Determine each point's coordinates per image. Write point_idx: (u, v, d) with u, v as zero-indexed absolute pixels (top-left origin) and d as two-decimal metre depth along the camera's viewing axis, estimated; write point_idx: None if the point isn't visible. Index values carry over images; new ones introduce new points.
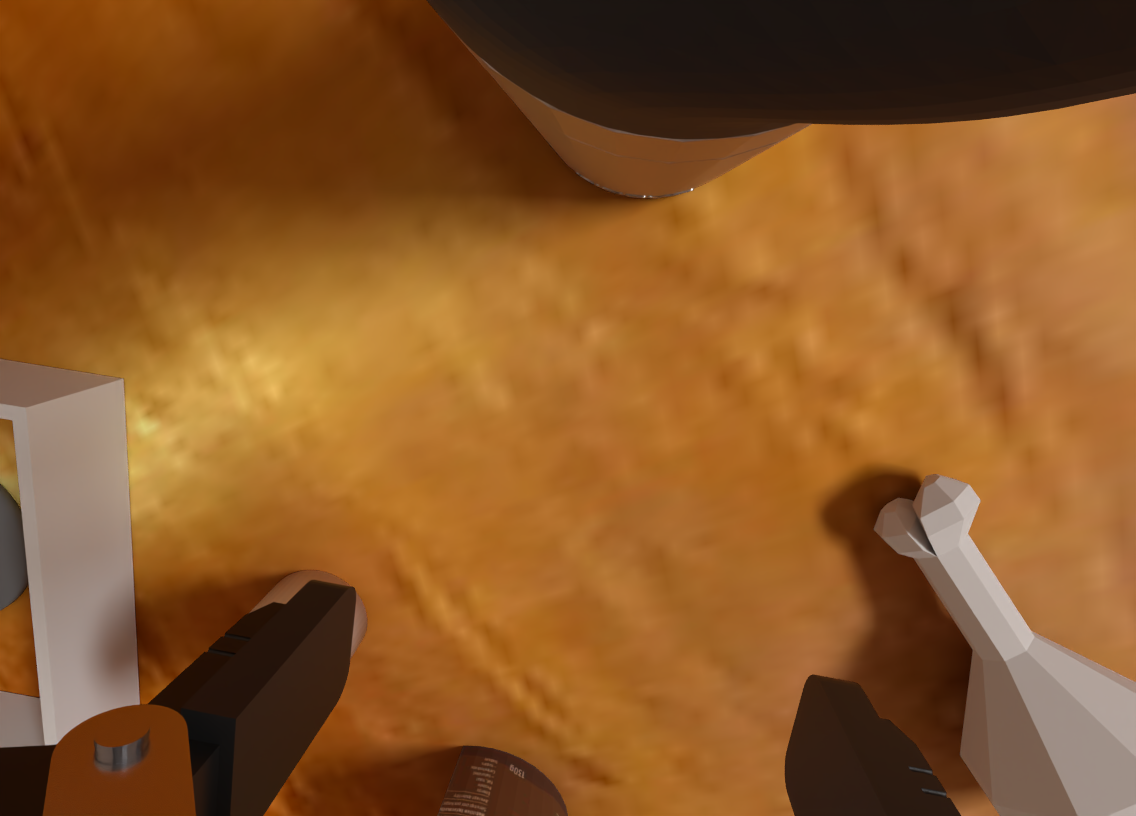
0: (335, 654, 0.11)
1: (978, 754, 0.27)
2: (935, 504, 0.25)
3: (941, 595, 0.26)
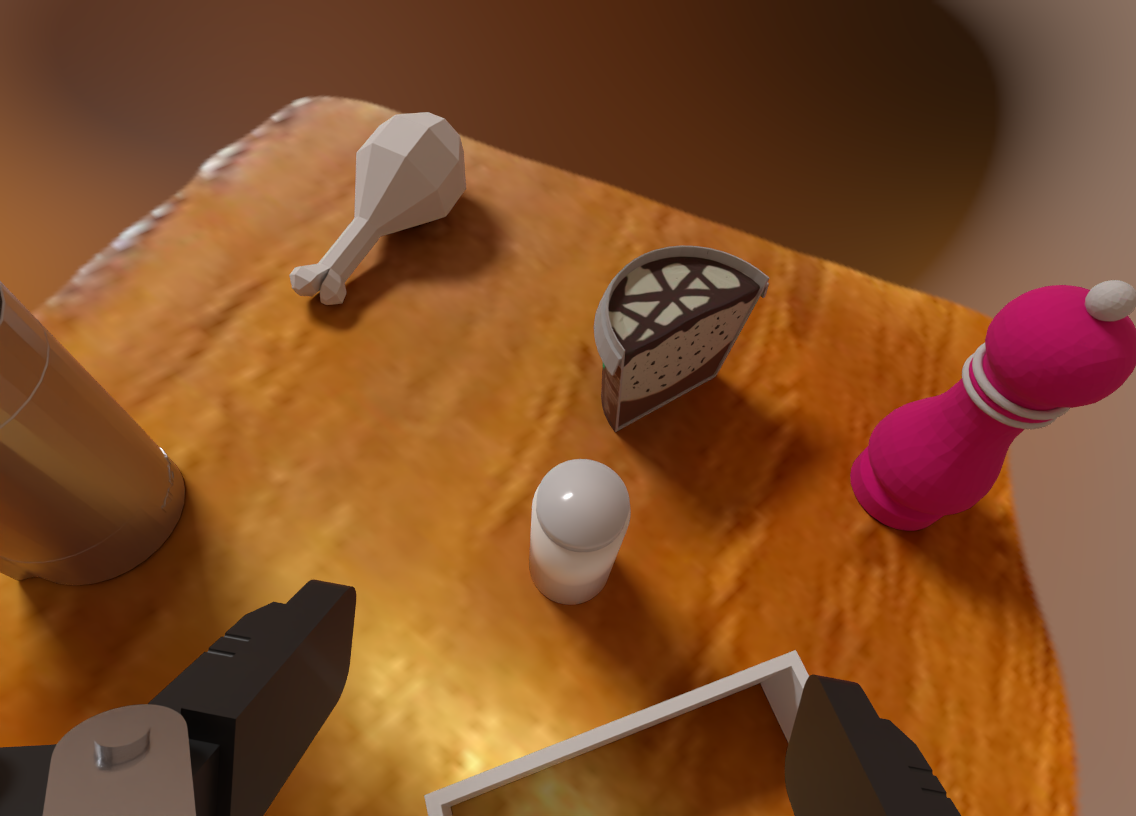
0: (335, 654, 0.11)
1: (426, 208, 0.51)
2: (301, 280, 0.47)
3: (353, 258, 0.49)
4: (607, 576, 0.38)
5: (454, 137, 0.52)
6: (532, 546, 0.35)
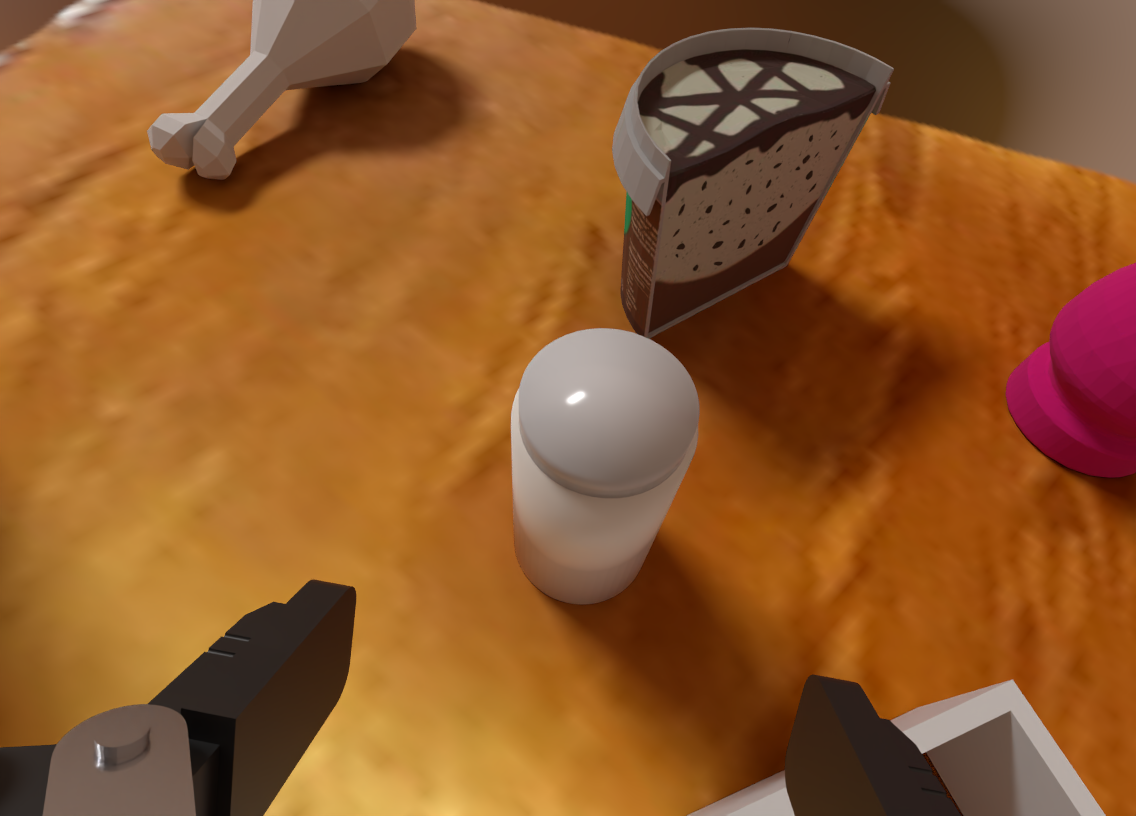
0: (335, 654, 0.11)
1: (356, 43, 0.35)
2: (161, 133, 0.31)
3: (245, 109, 0.33)
4: (646, 554, 0.22)
5: None
6: (515, 500, 0.20)
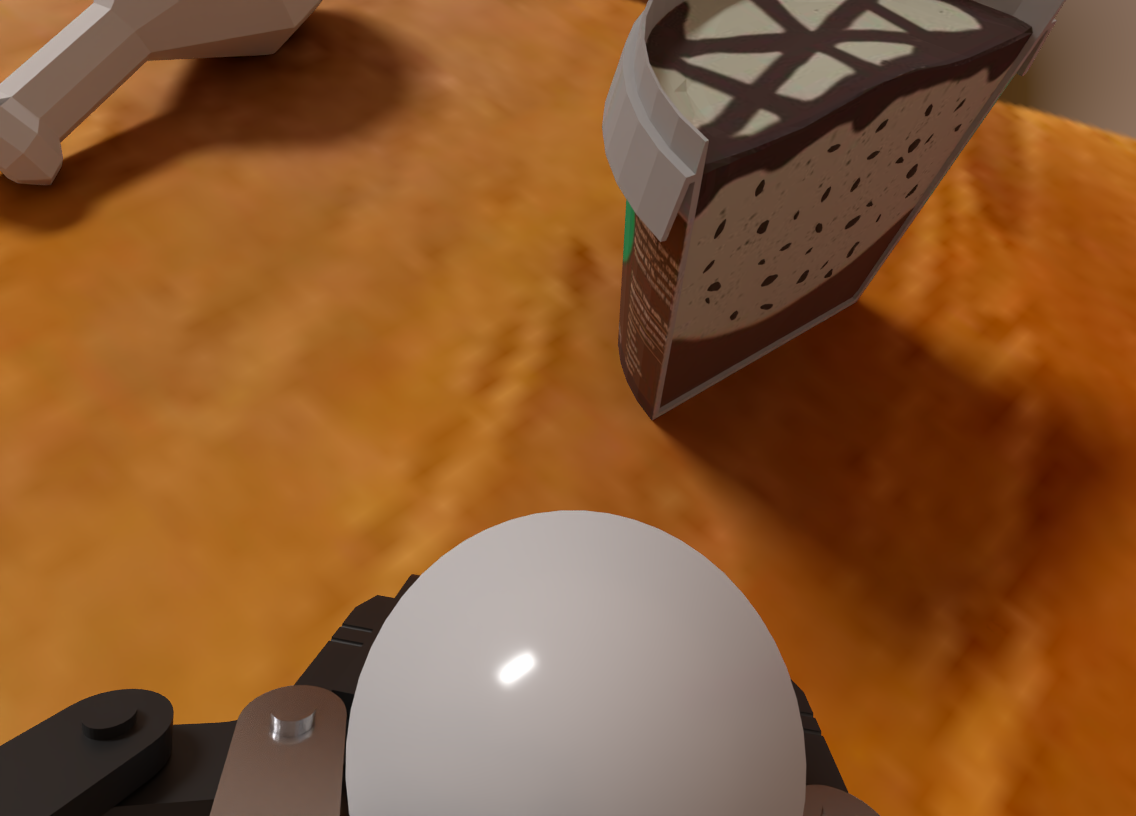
0: None
1: None
2: None
3: (75, 85, 0.23)
4: None
5: None
6: None
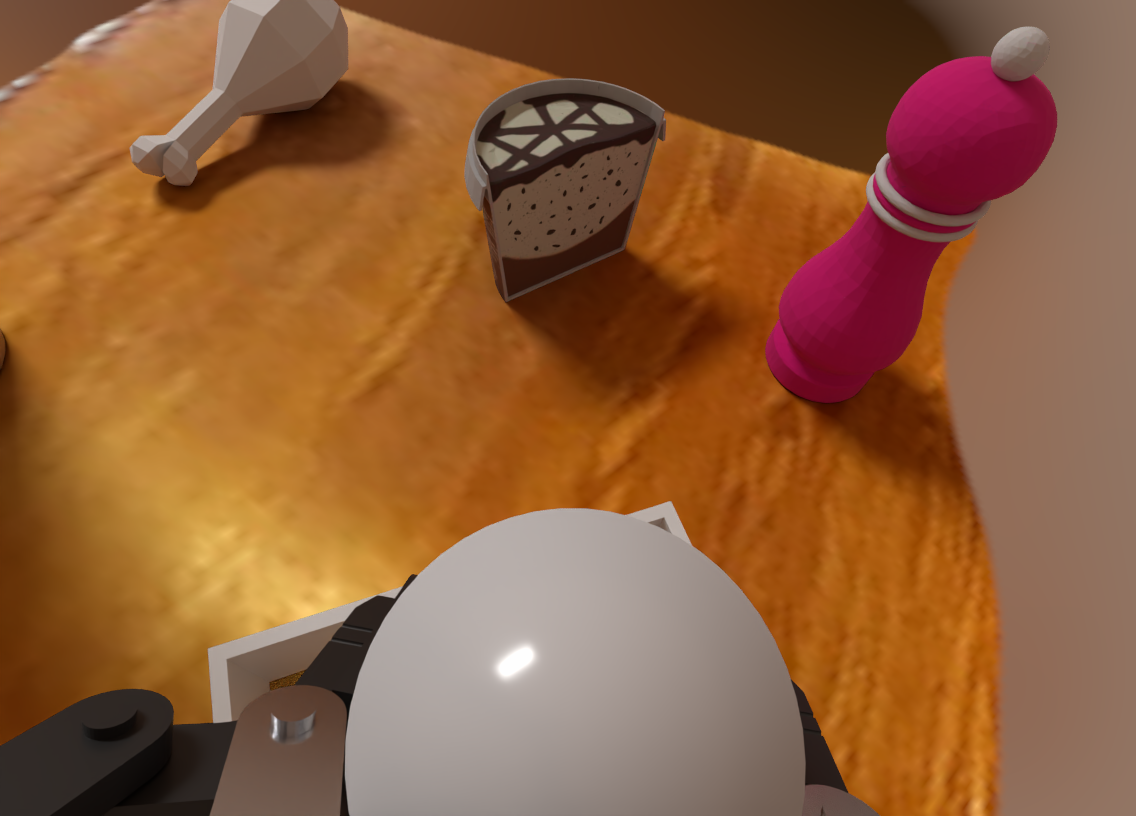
0: None
1: (295, 82, 0.45)
2: (139, 151, 0.42)
3: (205, 133, 0.43)
4: None
5: (331, 6, 0.46)
6: None
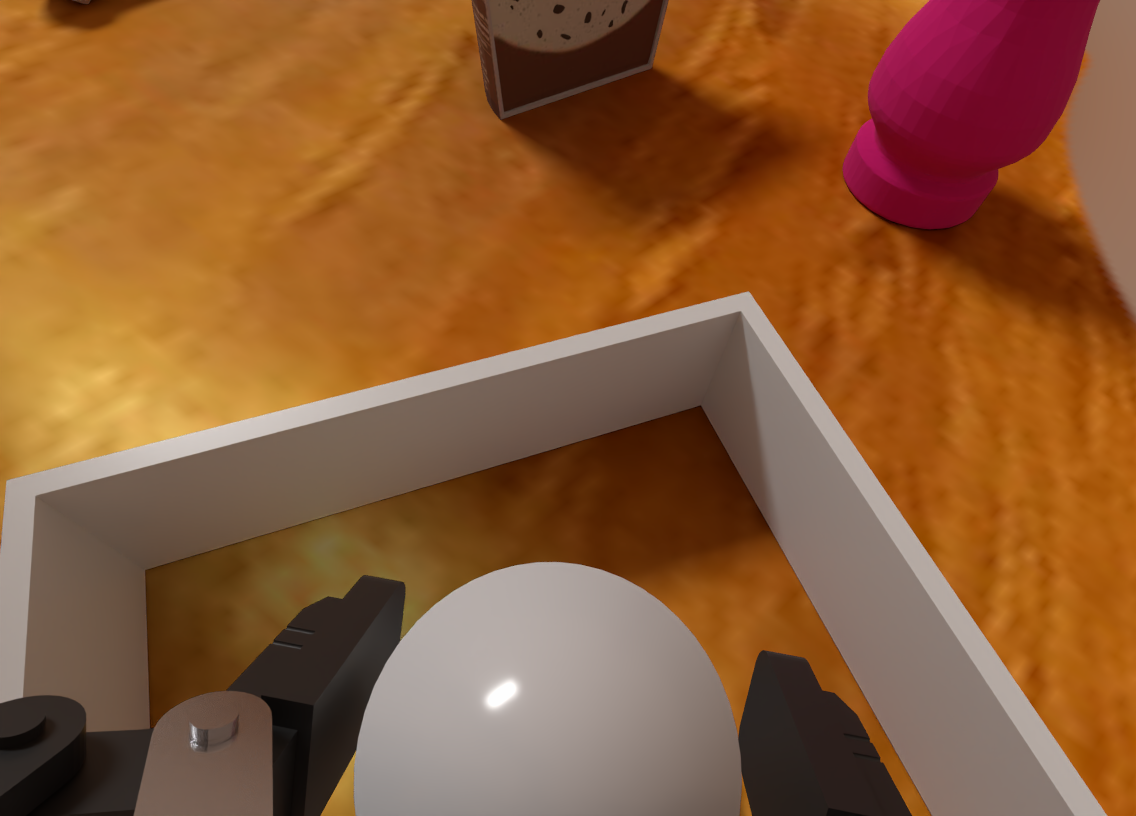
0: (387, 646, 0.11)
1: None
2: None
3: None
4: None
5: None
6: None
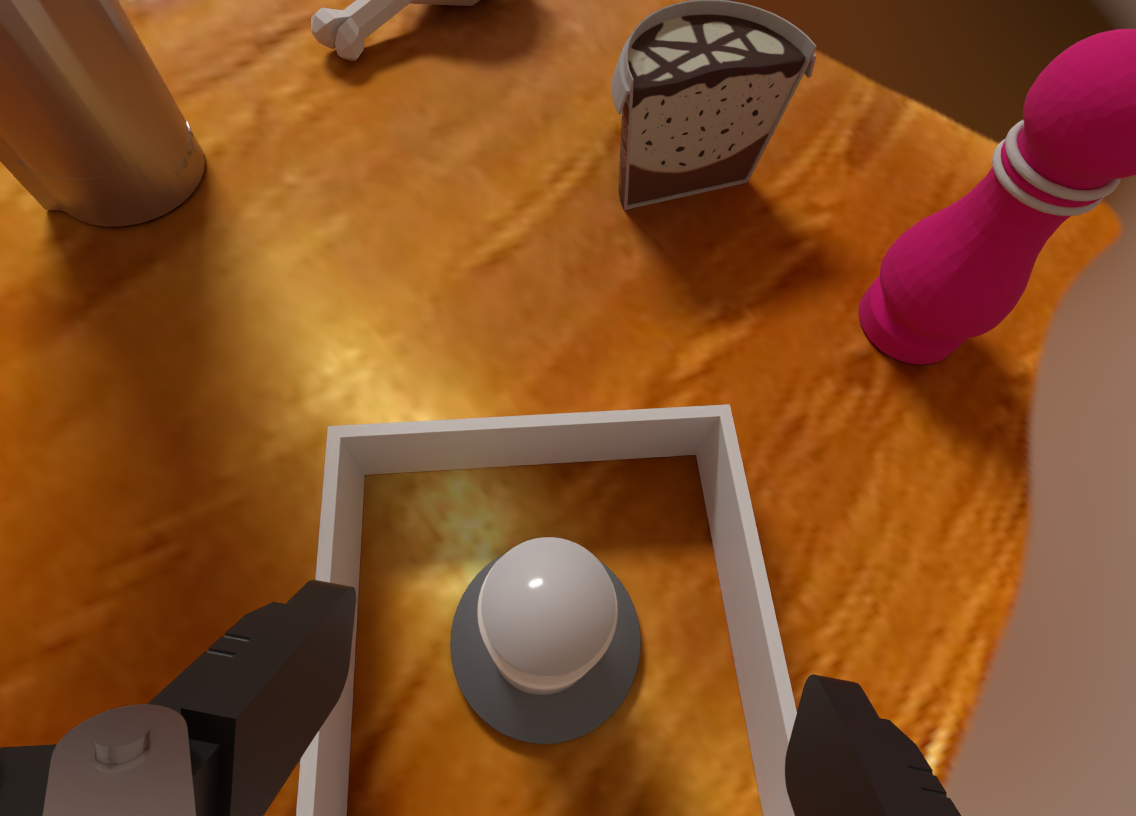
0: (334, 654, 0.11)
1: None
2: (318, 21, 0.46)
3: (377, 14, 0.47)
4: None
5: None
6: None
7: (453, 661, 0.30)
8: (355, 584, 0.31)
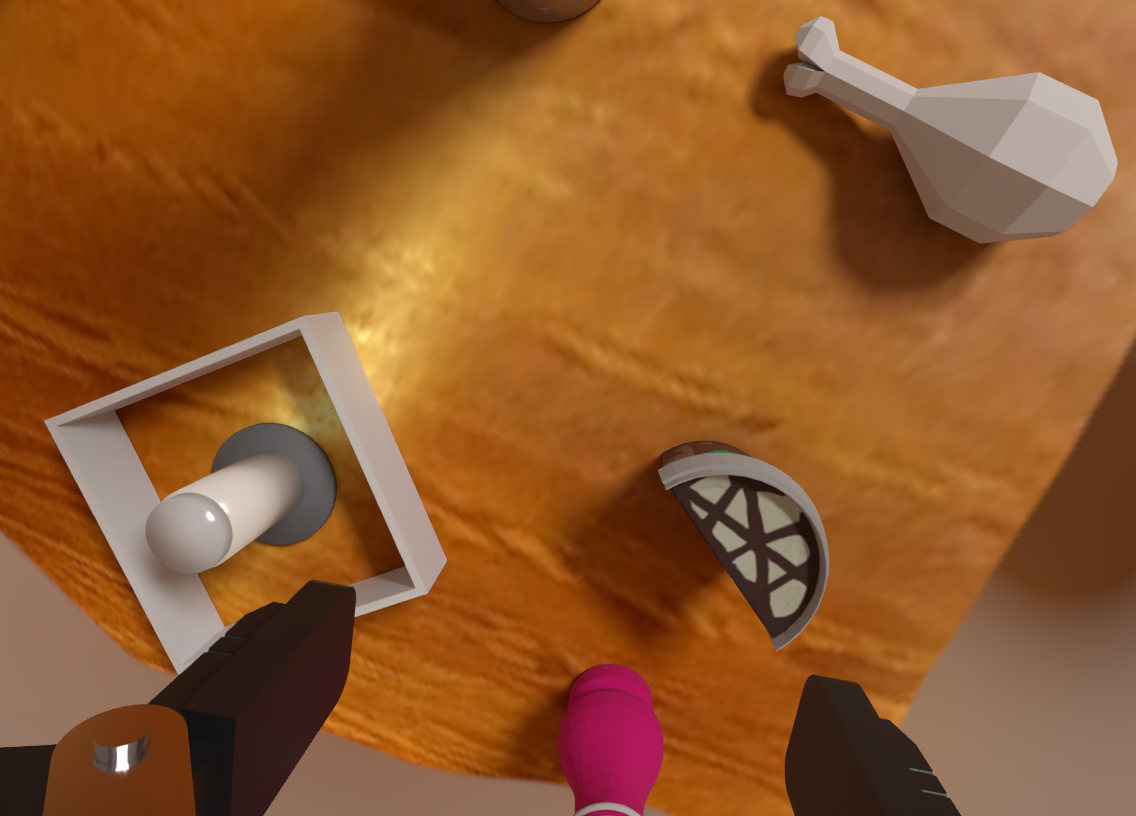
0: (335, 654, 0.11)
1: (928, 192, 0.37)
2: (803, 36, 0.36)
3: (845, 100, 0.37)
4: None
5: (1055, 224, 0.34)
6: (214, 472, 0.41)
7: (236, 433, 0.46)
8: (255, 353, 0.44)
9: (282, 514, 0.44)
